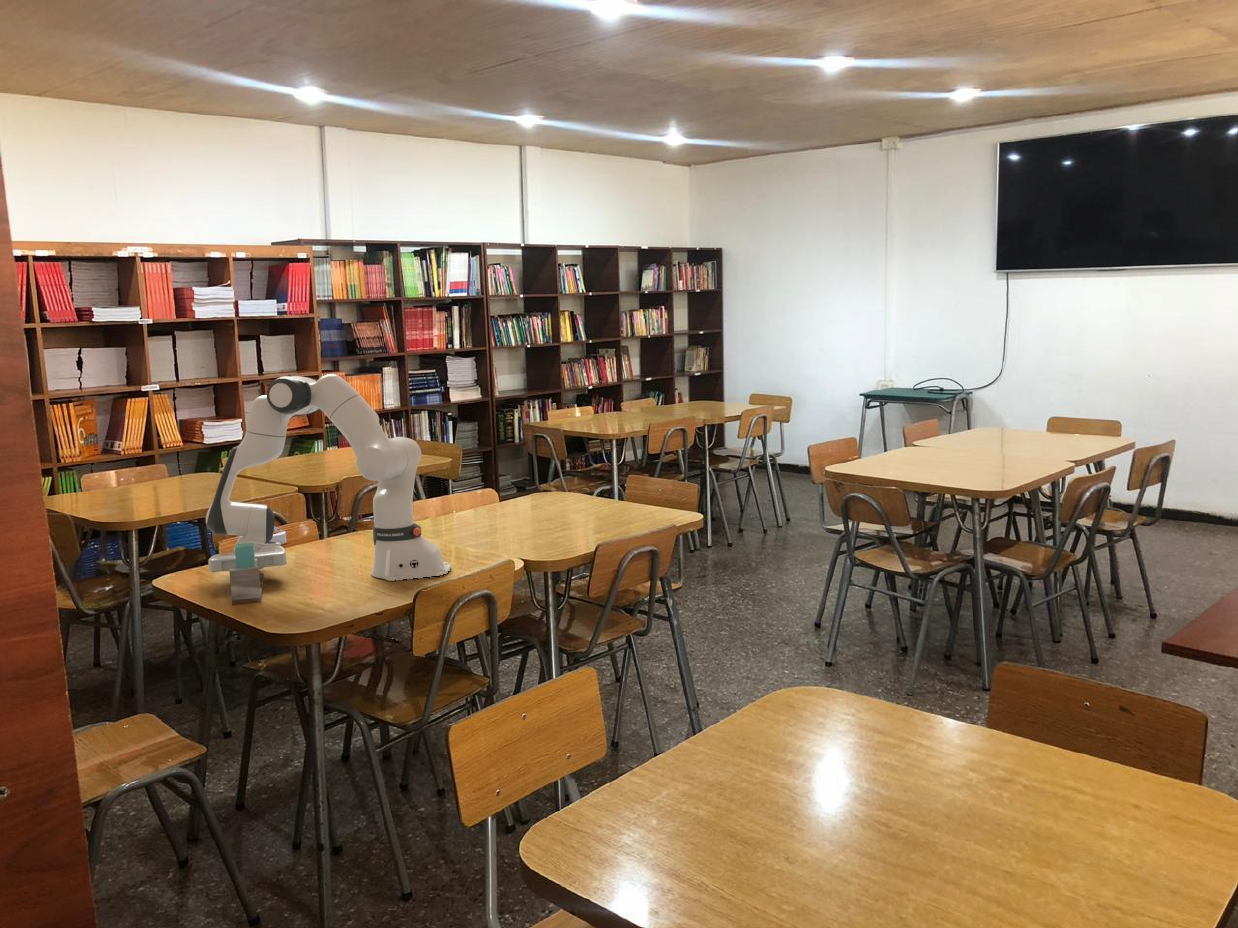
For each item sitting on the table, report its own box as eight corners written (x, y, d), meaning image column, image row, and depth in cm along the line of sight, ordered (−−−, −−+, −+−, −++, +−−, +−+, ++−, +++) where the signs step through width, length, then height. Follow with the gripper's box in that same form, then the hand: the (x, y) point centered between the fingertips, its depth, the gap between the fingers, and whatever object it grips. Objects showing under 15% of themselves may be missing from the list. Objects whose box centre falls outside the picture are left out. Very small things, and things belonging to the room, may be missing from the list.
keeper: (239, 587, 256) (235, 544, 255) (256, 585, 258) (253, 542, 256) (238, 591, 252) (234, 547, 250) (256, 589, 254) (252, 546, 252)
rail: (237, 580, 269) (235, 549, 268) (263, 577, 272) (261, 547, 270) (232, 604, 245) (229, 571, 244) (260, 601, 247) (258, 568, 246)
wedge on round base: (249, 541, 320) (263, 547, 310) (247, 521, 319) (262, 527, 309) (275, 537, 326) (290, 543, 316) (274, 518, 325) (289, 523, 315)
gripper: (208, 548, 266) (204, 559, 253) (285, 541, 272) (285, 551, 259) (210, 570, 267) (206, 582, 254) (287, 562, 273) (286, 574, 260)
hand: (246, 566), depth 256 cm, fingers closed, pressing on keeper
